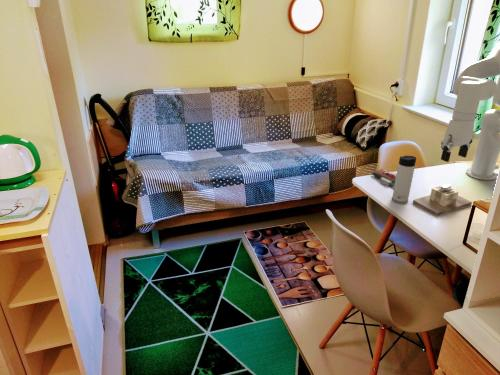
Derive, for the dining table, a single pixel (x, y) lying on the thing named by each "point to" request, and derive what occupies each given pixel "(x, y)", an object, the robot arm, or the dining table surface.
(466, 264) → the dining table surface
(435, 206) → the board
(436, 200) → the wooden nightstand
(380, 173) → the walkie-talkie
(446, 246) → the dining table surface
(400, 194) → the travel mug
